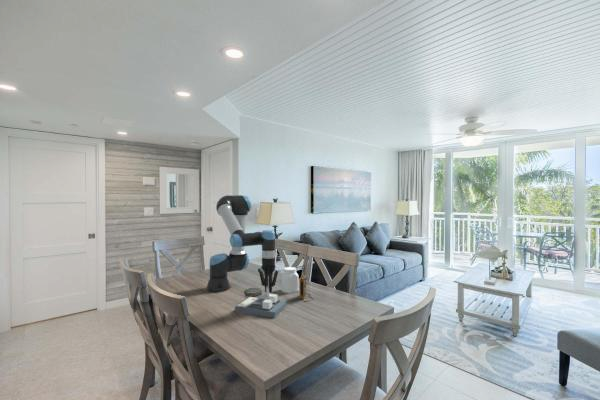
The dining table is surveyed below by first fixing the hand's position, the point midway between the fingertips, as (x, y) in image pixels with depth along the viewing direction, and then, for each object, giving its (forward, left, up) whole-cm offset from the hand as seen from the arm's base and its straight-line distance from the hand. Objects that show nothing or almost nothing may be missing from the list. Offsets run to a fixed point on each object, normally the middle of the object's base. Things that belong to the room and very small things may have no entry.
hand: (268, 298), depth 160 cm
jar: (+2, +31, -5) cm, 31 cm away
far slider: (+3, 0, -2) cm, 3 cm away
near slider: (+4, -9, -2) cm, 10 cm away
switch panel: (-2, -4, -5) cm, 7 cm away
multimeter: (+18, +22, -5) cm, 28 cm away
